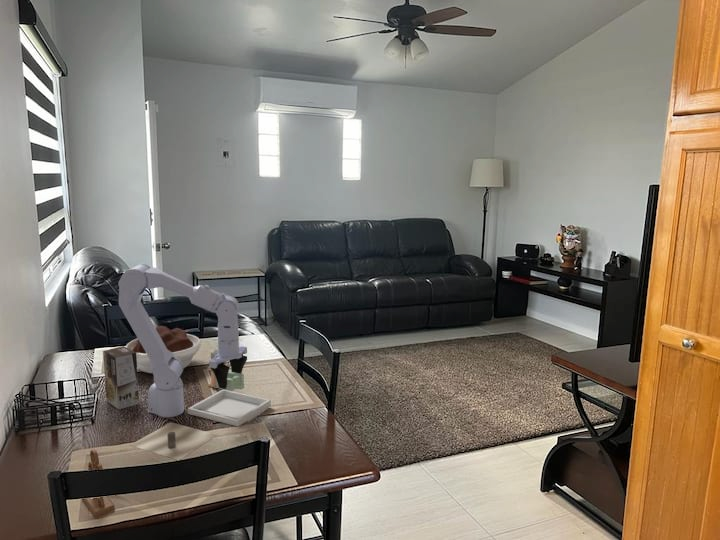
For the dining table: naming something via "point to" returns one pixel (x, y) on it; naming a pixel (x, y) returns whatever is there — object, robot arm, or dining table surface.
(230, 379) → the green block stack
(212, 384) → the grandmother figurine
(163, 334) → the bowl of brown treats
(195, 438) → the board
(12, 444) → the dining table surface
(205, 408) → the tray
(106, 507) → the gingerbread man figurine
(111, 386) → the coffee box
